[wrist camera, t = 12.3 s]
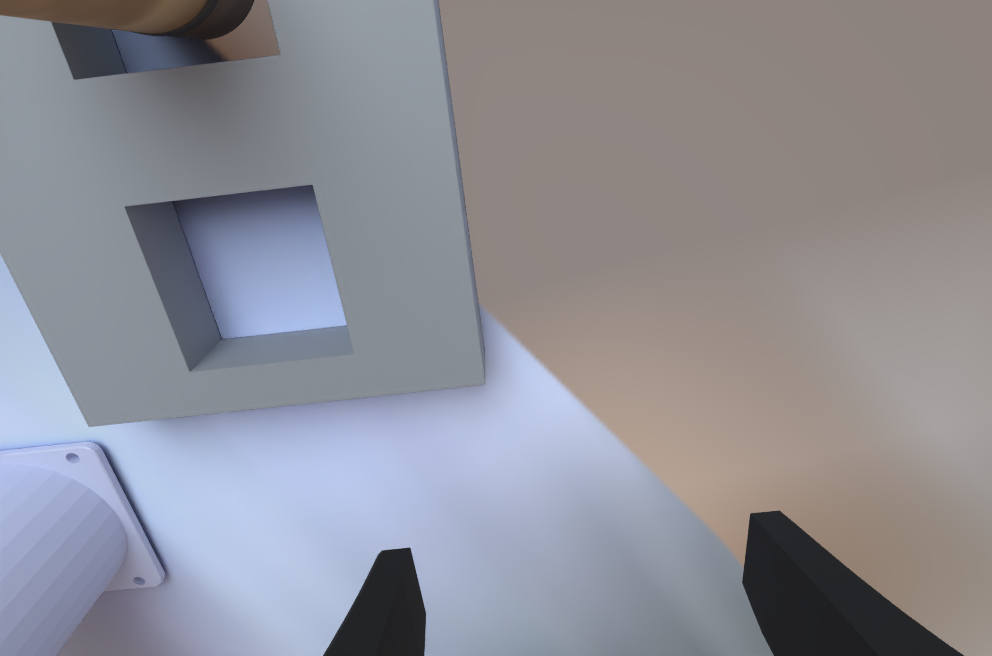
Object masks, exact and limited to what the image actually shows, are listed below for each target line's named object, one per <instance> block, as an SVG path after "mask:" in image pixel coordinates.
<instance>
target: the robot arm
mask: <svg viewBox="0 0 992 656" xmlns="http://www.w3.org/2000/svg"><path fill="white" fill-rule="evenodd" d="M74 454H76V455H77V456H76V455H74ZM164 578H165V572H164V570H163V568H162V566H161V564H160V562H159V560H158V558H157V557H156V555H155V553H154V551H153V549H152V547H151V545H150V543H149V541H148V539H147V537H146V535H145V533H144V531H143V529H142V527H141V525H140V523H139V521H138V519H137V517H136V515H135V513H134V511H133V509H132V507H131V505H130V503H129V501H128V499H127V498H126V496H125V494H124V492H123V490H122V488H121V486H120V484H119V482H118V480H117V478H116V476H115V474H114V472H113V470H112V468H111V466H110V464H109V462H108V460H107V458H106V456H105V454H104V452H103V450H102V449H101V448H100V446H98V445H97V444H95V443H92V442H78V443H68V444H59V445H49V446H40V447H31V448H21V449H12V450H2V451H0V656H57V654H58V653H59V652H60V650H61V649H62V647H63V646H64V645H65V643H66V642H67V641H68V639H69V638H70V637H71V635H72V634H73V632H74V631H75V630H76V628H77V627H78V626H79V624H80V623H81V621H82V620H83V619H84V617H85V616H86V615H87V613H88V612H89V610H90V609H91V608H92V606H93V605H94V604H95V602H96V601H97V600H98V598H99V597H100V595H101V594H102V593H103V592H108V591H118V590H128V589H138V588H148V587H156V586H159V585H160V584H161V583H162V581H163V580H164ZM742 583H743V586H744V588H745V591H746V594H747V596H748V599H749V601H750V604H751V607H752V609H753V612H754V614H755V616H756V619H757V621H758V624H759V626H760V629H761V631H762V633H763V635H764V637H765V639H766V641H767V643H768V645H769V647H770V649H771V651H772V653H773V655H774V656H964V655H962V654H961V653H959V652H958V651H957V650H955V649H954V648H952V647H951V646H949V645H948V644H946V643H945V642H944V641H942V640H941V639H939V638H938V637H937V636H935V635H934V634H933V633H931V632H930V631H928V630H927V629H926V628H924V627H923V626H922V625H920V624H919V623H918V622H916V621H915V620H913V619H912V618H911V617H909V616H908V615H907V614H905V613H904V612H903V611H901V610H900V609H899V608H898V607H896V606H895V605H894V604H892V603H891V602H890V601H889V600H887V599H886V598H885V597H883V596H882V595H881V594H880V593H878V592H877V591H876V590H875V589H873V588H872V587H871V586H870V585H868V584H867V583H866V582H865V581H863V580H862V579H861V578H859V577H858V576H857V575H856V574H855V573H853V572H852V571H851V570H850V569H849V568H847V567H846V566H845V565H844V564H842V563H841V562H840V561H839V560H838V559H836V558H835V557H834V556H833V555H832V554H831V553H829V552H828V551H827V550H826V549H825V548H823V547H822V546H821V545H820V544H819V543H817V542H816V541H815V540H814V539H813V538H812V537H810V536H809V535H808V534H807V533H806V532H804V531H803V530H802V529H801V528H800V527H799V526H797V525H796V524H795V523H794V522H793V521H791V520H790V519H789V518H788V517H787V516H785V515H784V514H783V513H782V512H781V511H771V512H761V513H751V514H750V521H749V529H748V539H747V547H746V555H745V564H744V573H743V581H742ZM425 626H426V612H425V608H424V603H423V599H422V595H421V591H420V586H419V582H418V578H417V574H416V570H415V565H414V561H413V557H412V553H411V549H410V548H403V549H393V550H383V551H381V552H380V553H379V554H378V556H377V558H376V560H375V562H374V564H373V566H372V568H371V570H370V572H369V574H368V576H367V578H366V580H365V582H364V584H363V586H362V588H361V590H360V592H359V594H358V596H357V597H356V599H355V601H354V603H353V605H352V607H351V609H350V610H349V612H348V614H347V616H346V617H345V619H344V621H343V623H342V624H341V626H340V628H339V630H338V631H337V633H336V635H335V636H334V638H333V640H332V642H331V643H330V645H329V647H328V648H327V650H326V652H325V653H324V655H323V656H424V650H425Z"/></svg>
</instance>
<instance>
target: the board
mask: <svg viewBox="0 0 992 656" xmlns="http://www.w3.org/2000/svg"><path fill="white" fill-rule="evenodd" d="M267 1H268V5H269V10H270V14H271V18H272V22H273V26H274V30H275V34H276V38H277V42H278V46H279V51H280V55H275V56H266V57H258V58H250V59H242V60H233V61H225V62H217V63H209V64H200V65H192V66H184V67H176V68H168V69H159V70H151V71H143V72H135V73H126V70H125V68H124V65H123V62H122V59H121V56H120V54H119V51H118V48H117V45H116V43H115V40H114V37H113V34H112V31H111V29H107V28H99V27H91V26H83V25H74V24H66V23H58V22H50V21H42V20H34V19H26V18H18V17H9V16H1V15H0V254H1V256H2V258H3V260H4V262H5V264H6V265H7V267H8V269H9V271H10V273H11V275H12V277H13V279H14V281H15V283H16V285H17V287H18V289H19V291H20V293H21V295H22V297H23V299H24V301H25V303H26V305H27V307H28V309H29V311H30V313H31V315H32V316H33V318H34V320H35V322H36V324H37V326H38V328H39V330H40V332H41V334H42V336H43V338H44V340H45V342H46V344H47V346H48V348H49V350H50V352H51V354H52V356H53V358H54V360H55V362H56V364H57V365H58V367H59V369H60V371H61V373H62V375H63V377H64V379H65V381H66V383H67V385H68V387H69V389H70V391H71V393H72V395H73V397H74V399H75V401H76V403H77V405H78V407H79V409H80V411H81V413H82V415H83V416H84V418H85V420H86V422H87V424H88V426H89V427H93V426H102V425H112V424H121V423H130V422H140V421H149V420H158V419H168V418H177V417H187V416H196V415H205V414H215V413H224V412H233V411H243V410H252V409H261V408H271V407H280V406H289V405H299V404H308V403H318V402H327V401H336V400H346V399H355V398H364V397H374V396H383V395H392V394H402V393H411V392H421V391H430V390H439V389H449V388H458V387H467V386H477V385H485V350H484V342H483V335H482V327H481V319H480V312H479V304H478V297H477V290H476V282H475V274H474V267H473V259H472V251H471V244H470V236H469V229H468V221H467V213H466V206H465V198H464V191H463V183H462V176H461V168H460V161H459V153H458V145H457V138H456V130H455V122H454V115H453V107H452V100H451V92H450V85H449V77H448V69H447V62H446V54H445V47H444V39H443V32H442V24H441V17H440V9H439V1H438V0H267ZM305 185H313V189H314V193H315V197H316V201H317V205H318V209H319V213H320V217H321V221H322V225H323V229H324V233H325V237H326V241H327V246H328V250H329V254H330V258H331V262H332V266H333V270H334V274H335V278H336V282H337V286H338V290H339V294H340V298H341V302H342V306H343V311H344V315H345V319H346V323H347V326H340V327H331V328H322V329H312V330H303V331H294V332H285V333H276V334H267V335H258V336H249V337H240V338H231V339H221V336H220V334H219V331H218V328H217V325H216V322H215V320H214V317H213V314H212V311H211V308H210V306H209V303H208V300H207V297H206V294H205V292H204V289H203V286H202V283H201V280H200V278H199V275H198V272H197V269H196V266H195V264H194V261H193V258H192V255H191V252H190V250H189V247H188V244H187V241H186V238H185V236H184V233H183V230H182V227H181V224H180V222H179V219H178V216H177V213H176V210H175V208H174V205H173V202H172V201H176V200H184V199H193V198H202V197H210V196H219V195H228V194H236V193H245V192H253V191H262V190H271V189H279V188H288V187H297V186H305Z"/></svg>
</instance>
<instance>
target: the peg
mask: <svg viewBox="0 0 992 656" xmlns="http://www.w3.org/2000/svg"><path fill="white" fill-rule="evenodd" d="M253 3H254V0H0V15H1V16H9V17H18V18H26V19H34V20H42V21H50V22H58V23H66V24H74V25H83V26H91V27H99V28H107V29H115V30H123V31H130V32H134V33H139V34H145V35H154V36H172V37H180V38H188V39H198V40H206V39H213V38H218V37H221V36H223V35H225V34H228V33H229V32H231V31H232V30H234V29H235V28H236V27H238V26H239V25H240V24H241V23H242V21H243V20H244V19H245V18H246V16H247V14H248V13H249V11H250V9H251V7H252V5H253Z"/></svg>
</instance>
